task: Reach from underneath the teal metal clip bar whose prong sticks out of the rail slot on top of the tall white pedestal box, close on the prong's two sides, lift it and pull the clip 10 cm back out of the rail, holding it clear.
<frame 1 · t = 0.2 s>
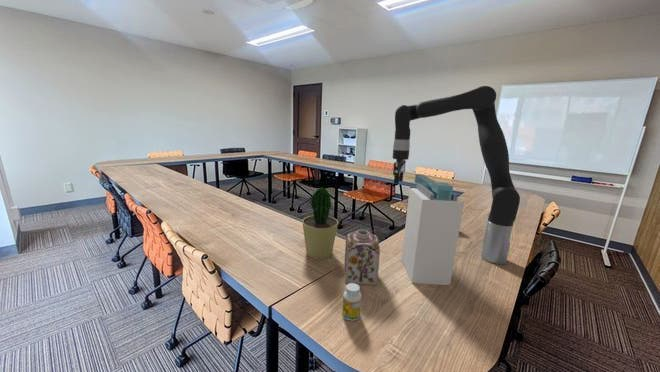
hand: (398, 182, 128), 29 cm above the table, tool pointing down, fingers open, 8 cm apart
decorative jar: (359, 276, 99), on the table
clip: (429, 190, 102), point 32 cm above the table, touching tall white pedestal box
potted cactus: (319, 253, 116), on the table
supplement bottle: (350, 315, 79), on the table
tall white pedestal box: (423, 272, 104), on the table
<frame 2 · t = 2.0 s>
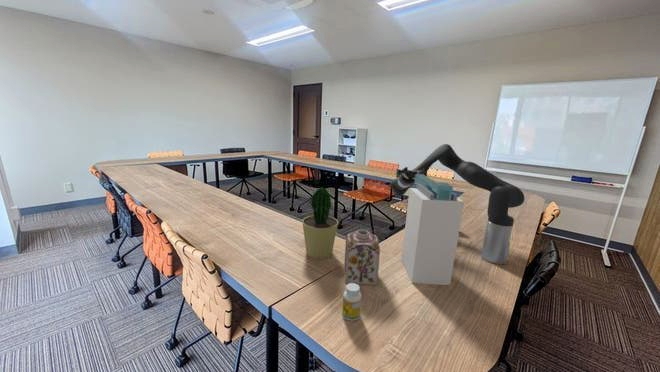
hand: (415, 169, 124), 36 cm above the table, tool pointing upward, fingers open, 8 cm apart
nothing on the table moved.
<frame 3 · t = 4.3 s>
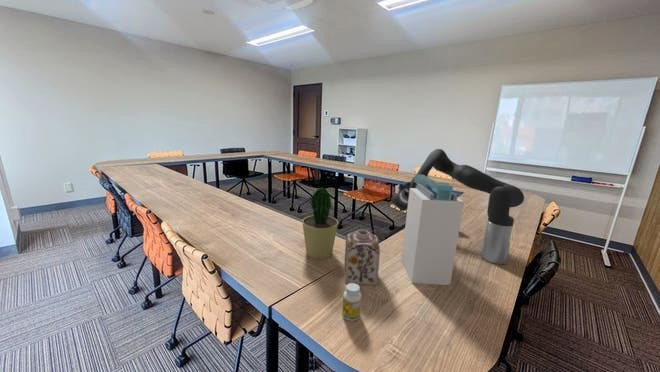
hand: (419, 184, 114), 31 cm above the table, tool pointing upward, fingers open, 8 cm apart
nothing on the table moved.
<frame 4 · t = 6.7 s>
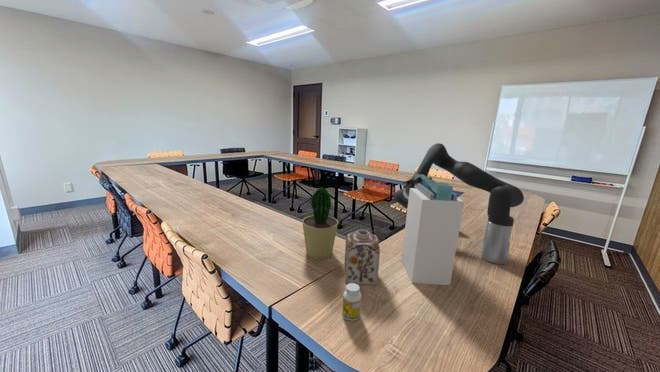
hand: (425, 179, 107), 35 cm above the table, tool pointing upward, fingers closed on clip, 3 cm apart
clip: (429, 190, 102), point 32 cm above the table, touching gripper, tall white pedestal box
everything else where it was.
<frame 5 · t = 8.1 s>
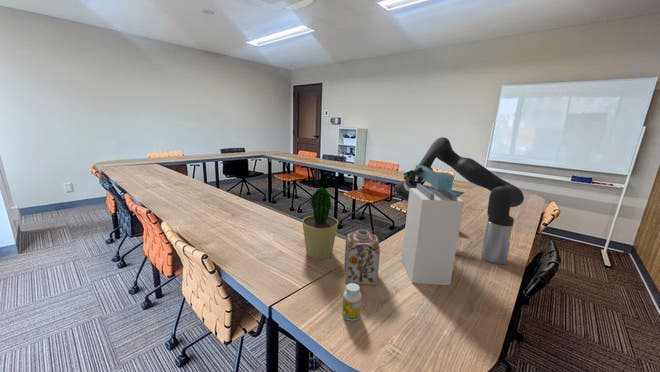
hand: (426, 169, 106), 39 cm above the table, tool pointing upward, fingers closed on clip, 3 cm apart
clip: (429, 180, 101), point 36 cm above the table, touching gripper
everything else where it was.
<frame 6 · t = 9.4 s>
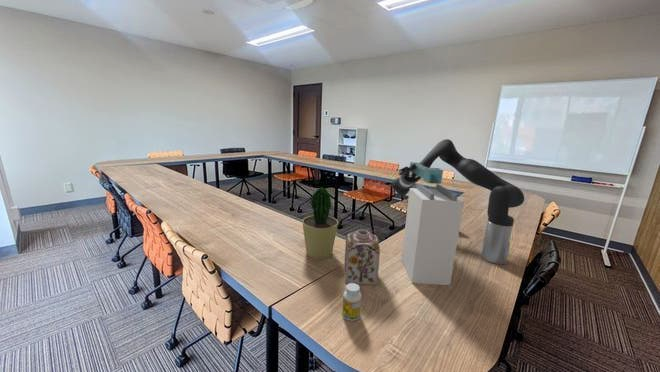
hand: (419, 166, 115), 39 cm above the table, tool pointing upward, fingers closed on clip, 3 cm apart
clip: (422, 175, 110), point 36 cm above the table, touching gripper
everything else where it was.
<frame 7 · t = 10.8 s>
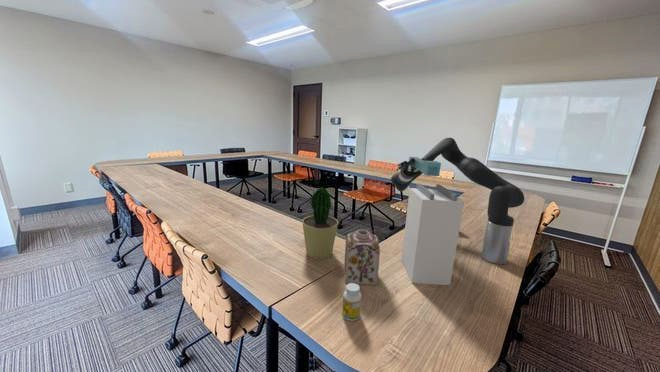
hand: (418, 160, 117), 41 cm above the table, tool pointing upward, fingers closed on clip, 3 cm apart
clip: (421, 169, 113), point 38 cm above the table, touching gripper
everything else where it was.
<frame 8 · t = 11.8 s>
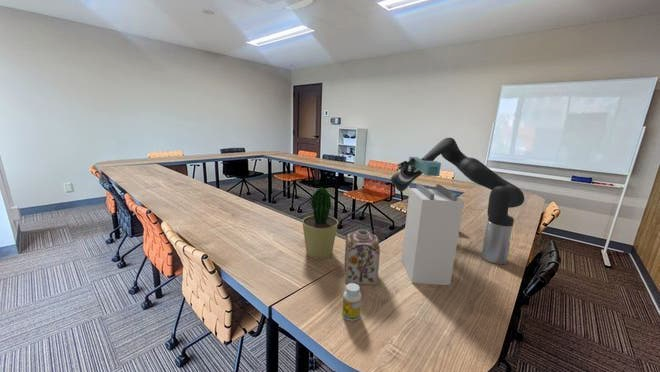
hand: (418, 160, 117), 41 cm above the table, tool pointing upward, fingers closed on clip, 3 cm apart
clip: (421, 169, 113), point 38 cm above the table, touching gripper
everything else where it was.
at the end: the gripper is holding clip; clip moved 14.0 cm from its start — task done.
